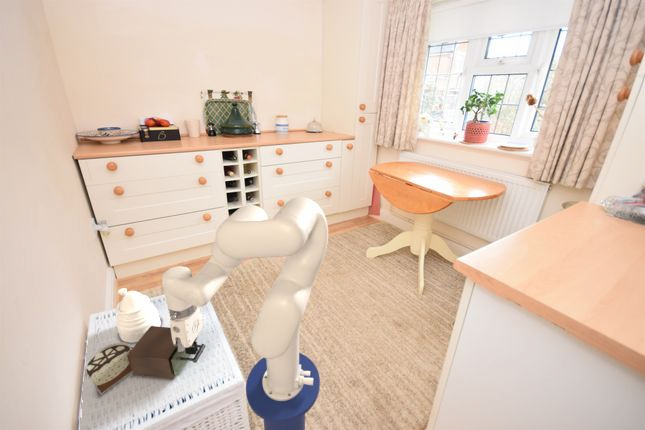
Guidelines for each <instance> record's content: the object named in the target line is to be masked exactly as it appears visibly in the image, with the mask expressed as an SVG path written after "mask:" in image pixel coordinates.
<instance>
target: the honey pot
mask: <svg viewBox="0 0 645 430" xmlns="http://www.w3.org/2000/svg"><path fill="white" fill-rule="evenodd" d="M117 293H118V295H119V296H122V298H121V300H120V301H119V302H118V303H117V305H116V306H115V312H116V313H117V318H116V319H117V320H116V328H117V332H118V335H119V338H120V339H121V340H122V341H123V342H124V343H128V344H130V343H137V342H138V341H139V340H140V339H141V337H142V336H143V335H144V334H145V333H146V331H147V330H148V329H149V328H150V327H151V326H158V327H161V323H162V322H161V317H160V314H159V311H158V310H159V309H157V307H155V305H154V304H153V302H151V301H150V297H148V295H145V294H142V293H141V292H139V291H136V290H129V291H128V289H127V288H126V287H121V288H120V289H118V290H117Z"/></svg>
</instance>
